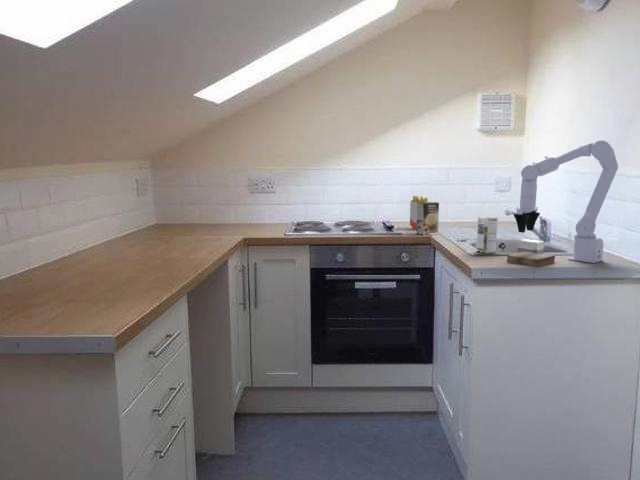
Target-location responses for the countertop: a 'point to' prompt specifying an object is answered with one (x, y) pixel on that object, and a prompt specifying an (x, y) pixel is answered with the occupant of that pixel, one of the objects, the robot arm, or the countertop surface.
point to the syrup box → (486, 234)
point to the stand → (531, 258)
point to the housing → (530, 246)
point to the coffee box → (427, 217)
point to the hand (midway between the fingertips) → (525, 231)
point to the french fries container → (415, 210)
